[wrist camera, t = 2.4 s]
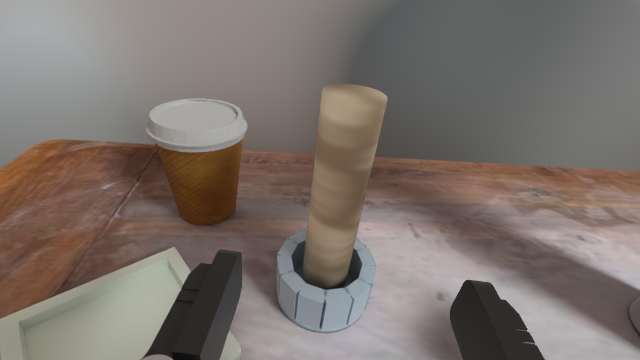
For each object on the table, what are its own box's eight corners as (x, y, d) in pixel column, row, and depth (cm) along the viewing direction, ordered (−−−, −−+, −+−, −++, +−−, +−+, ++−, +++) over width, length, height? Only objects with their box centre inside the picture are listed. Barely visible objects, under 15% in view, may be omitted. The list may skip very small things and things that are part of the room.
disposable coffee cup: (261, 195, 40) (261, 106, 34) (225, 244, 32) (217, 141, 26) (194, 179, 42) (183, 91, 35) (145, 223, 34) (118, 120, 27)
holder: (324, 244, 34) (328, 216, 32) (384, 296, 29) (394, 267, 27) (258, 282, 29) (258, 252, 27) (318, 354, 24) (324, 323, 22)
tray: (177, 261, 30) (174, 246, 29) (241, 361, 23) (240, 346, 22) (10, 335, 23) (-3, 319, 21) (28, 516, 15) (10, 505, 14)
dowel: (323, 262, 31) (353, 81, 21) (352, 289, 29) (400, 98, 19) (292, 282, 28) (308, 87, 19) (321, 313, 26) (357, 108, 16)
